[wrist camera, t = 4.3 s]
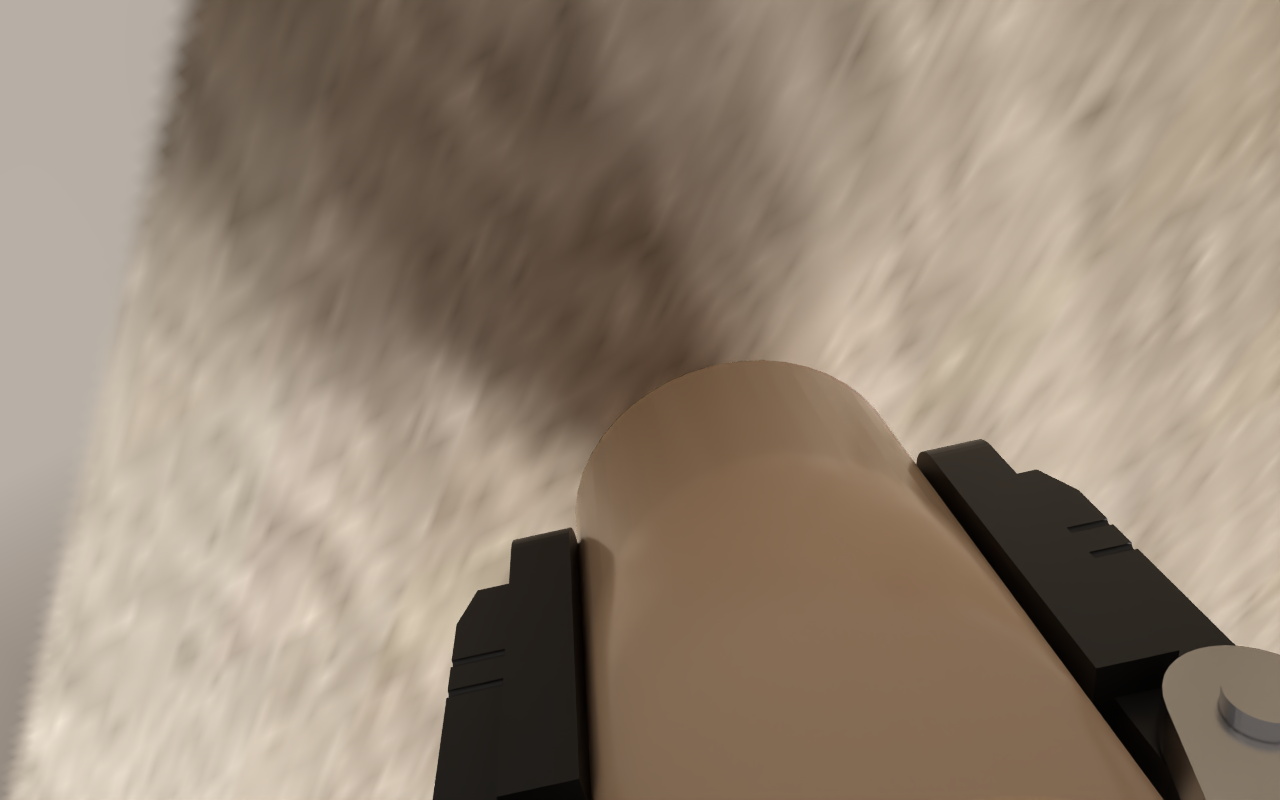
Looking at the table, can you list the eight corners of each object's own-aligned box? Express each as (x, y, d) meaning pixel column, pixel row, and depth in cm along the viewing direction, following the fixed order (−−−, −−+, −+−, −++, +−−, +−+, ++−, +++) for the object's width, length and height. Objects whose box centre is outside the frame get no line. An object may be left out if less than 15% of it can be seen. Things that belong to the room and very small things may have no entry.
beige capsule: (893, 326, 10) (1785, 1254, 3) (907, 597, 12) (1437, 1529, 5) (539, 404, 10) (519, 1526, 3) (613, 661, 12) (709, 1687, 5)
